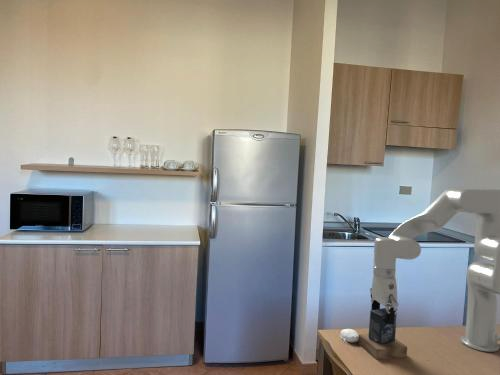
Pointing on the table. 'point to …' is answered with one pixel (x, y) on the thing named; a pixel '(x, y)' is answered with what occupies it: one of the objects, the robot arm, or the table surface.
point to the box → (381, 327)
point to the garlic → (349, 335)
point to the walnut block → (382, 348)
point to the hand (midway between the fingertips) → (382, 318)
